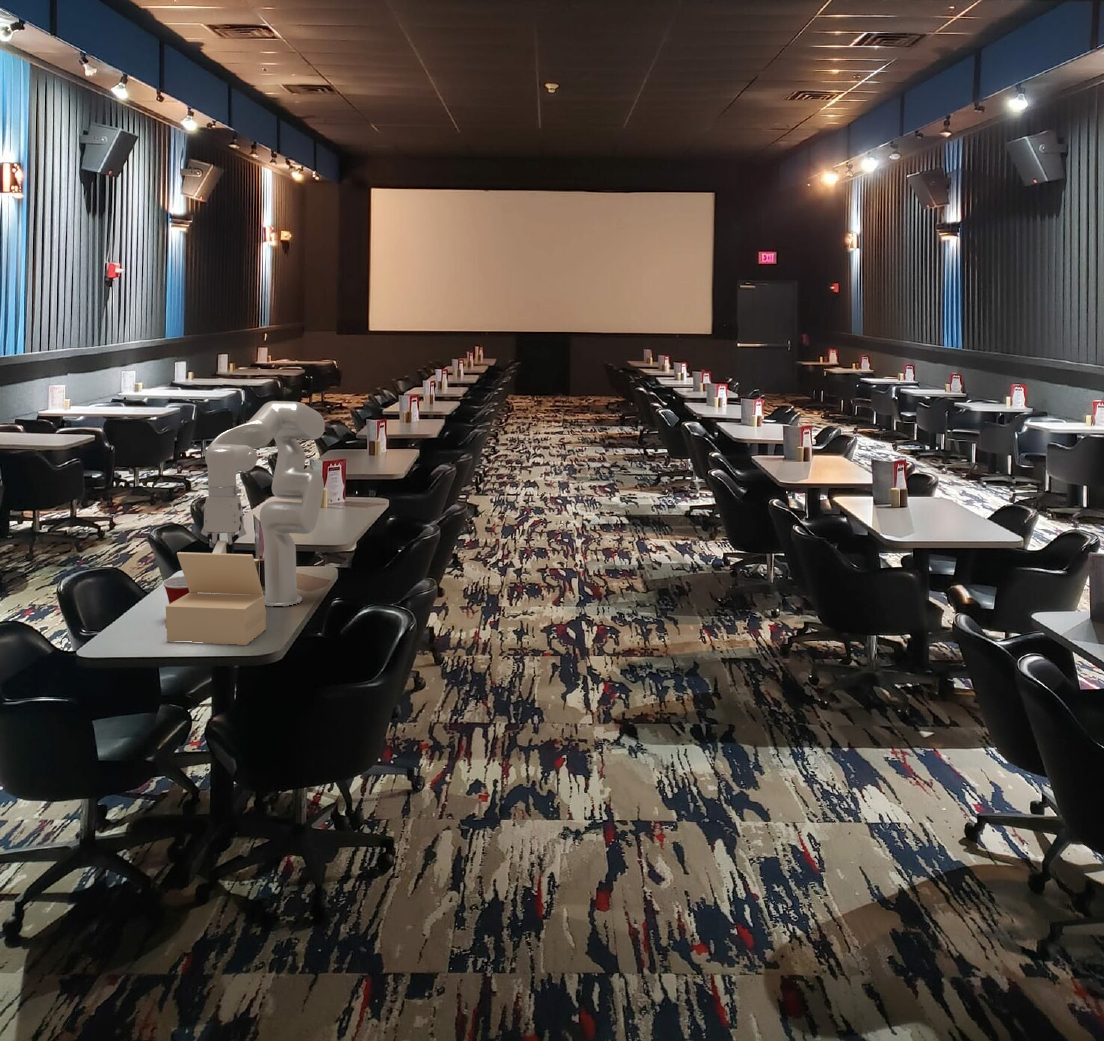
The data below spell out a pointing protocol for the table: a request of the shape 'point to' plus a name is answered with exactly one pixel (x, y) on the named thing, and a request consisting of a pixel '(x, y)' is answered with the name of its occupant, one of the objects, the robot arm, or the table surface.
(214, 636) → the carton
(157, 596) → the table surface
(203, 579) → the flap
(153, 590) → the table surface
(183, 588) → the plastic cup
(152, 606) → the table surface
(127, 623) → the table surface
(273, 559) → the robot arm
